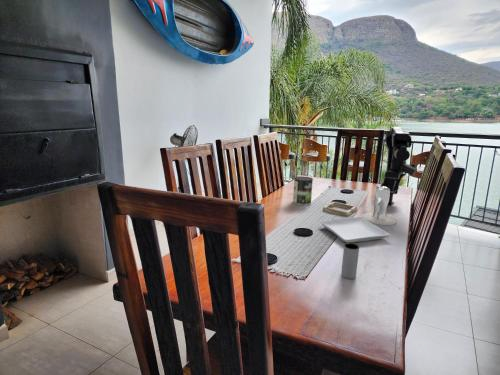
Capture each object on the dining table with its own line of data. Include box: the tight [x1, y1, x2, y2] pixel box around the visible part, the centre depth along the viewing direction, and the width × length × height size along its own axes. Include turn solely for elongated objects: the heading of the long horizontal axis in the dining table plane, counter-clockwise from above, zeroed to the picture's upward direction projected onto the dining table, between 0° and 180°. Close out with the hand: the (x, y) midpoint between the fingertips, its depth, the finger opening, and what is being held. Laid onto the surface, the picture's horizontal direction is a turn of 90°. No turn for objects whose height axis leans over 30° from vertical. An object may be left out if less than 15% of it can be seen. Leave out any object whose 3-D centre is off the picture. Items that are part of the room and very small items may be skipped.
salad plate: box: [320, 216, 391, 243], centre depth 134 cm, size 21×21×3 cm
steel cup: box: [372, 185, 390, 220], centre depth 150 cm, size 7×7×15 cm
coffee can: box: [292, 176, 314, 206], centre depth 175 cm, size 10×10×14 cm
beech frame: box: [322, 201, 358, 217], centre depth 164 cm, size 13×13×2 cm
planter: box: [340, 242, 360, 280], centre depth 99 cm, size 4×4×10 cm
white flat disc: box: [361, 212, 398, 226], centre depth 152 cm, size 16×16×1 cm
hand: (394, 188), depth 158 cm, fingers open, 9 cm apart
